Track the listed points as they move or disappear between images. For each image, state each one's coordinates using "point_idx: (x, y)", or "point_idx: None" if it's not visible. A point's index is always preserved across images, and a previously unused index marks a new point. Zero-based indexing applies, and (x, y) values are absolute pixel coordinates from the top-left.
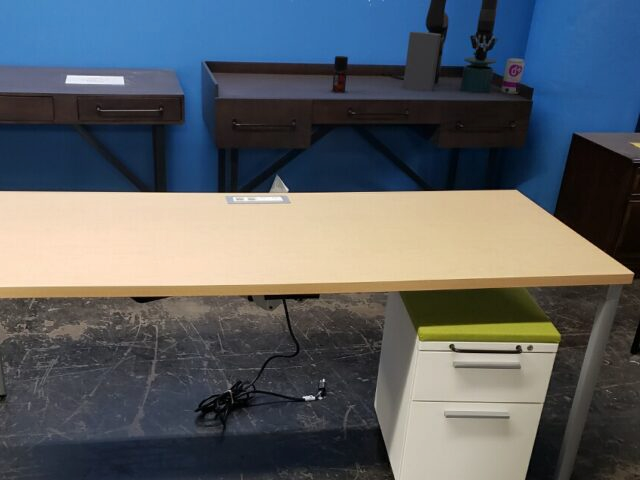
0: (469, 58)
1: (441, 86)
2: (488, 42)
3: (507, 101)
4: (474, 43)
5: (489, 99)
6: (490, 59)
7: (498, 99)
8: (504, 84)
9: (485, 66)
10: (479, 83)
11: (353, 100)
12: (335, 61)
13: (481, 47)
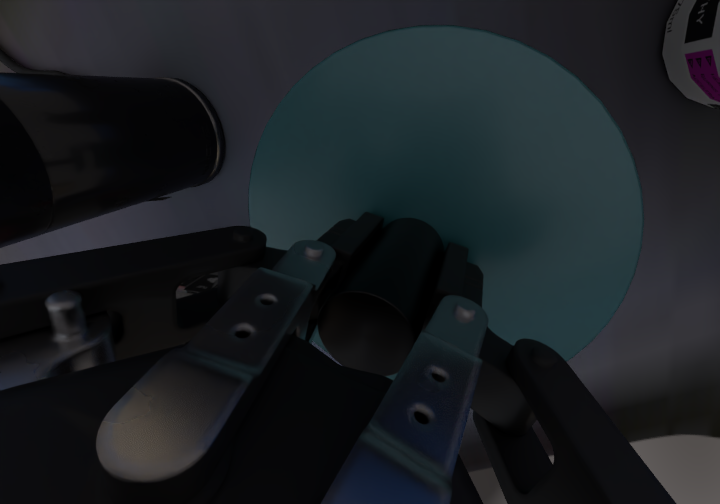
0: (285, 220)
1: (244, 134)
2: (455, 418)
3: (698, 381)
4: (194, 327)
5: (572, 366)
6: (536, 123)
7: (632, 346)
8: (714, 92)
9: None
10: None
11: None
12: None
13: (361, 368)
